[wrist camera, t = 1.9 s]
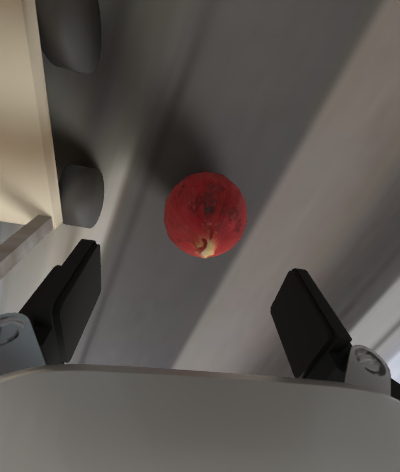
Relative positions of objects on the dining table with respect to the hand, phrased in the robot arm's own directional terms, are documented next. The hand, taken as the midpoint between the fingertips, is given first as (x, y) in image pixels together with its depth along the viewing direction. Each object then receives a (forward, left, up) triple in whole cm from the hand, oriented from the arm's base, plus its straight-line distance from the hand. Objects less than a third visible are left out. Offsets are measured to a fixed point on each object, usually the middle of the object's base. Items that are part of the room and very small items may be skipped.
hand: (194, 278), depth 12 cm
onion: (-1, -1, -10) cm, 10 cm away
